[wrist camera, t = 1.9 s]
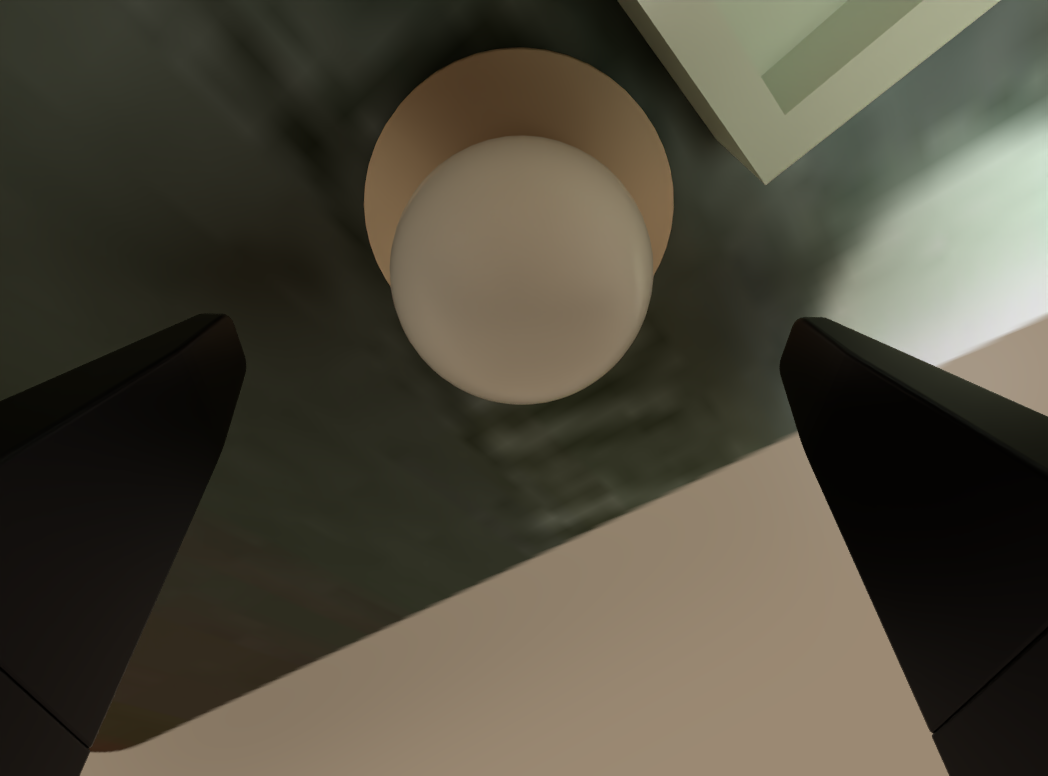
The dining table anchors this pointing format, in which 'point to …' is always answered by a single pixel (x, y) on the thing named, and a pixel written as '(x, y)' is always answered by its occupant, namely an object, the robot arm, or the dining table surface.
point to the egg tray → (791, 63)
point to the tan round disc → (516, 132)
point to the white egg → (521, 270)
